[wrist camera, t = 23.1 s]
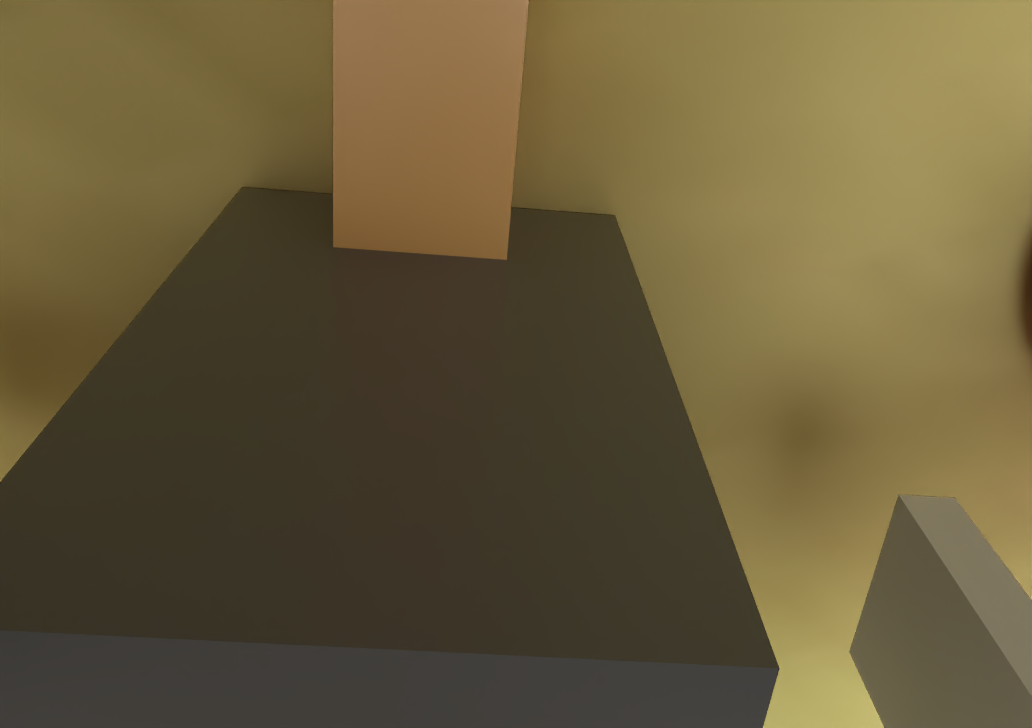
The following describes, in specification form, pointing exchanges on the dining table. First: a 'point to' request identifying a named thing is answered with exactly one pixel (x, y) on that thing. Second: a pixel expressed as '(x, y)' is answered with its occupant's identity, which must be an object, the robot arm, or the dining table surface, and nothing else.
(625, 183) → the dining table surface
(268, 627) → the hammer
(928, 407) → the dining table surface
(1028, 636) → the robot arm
